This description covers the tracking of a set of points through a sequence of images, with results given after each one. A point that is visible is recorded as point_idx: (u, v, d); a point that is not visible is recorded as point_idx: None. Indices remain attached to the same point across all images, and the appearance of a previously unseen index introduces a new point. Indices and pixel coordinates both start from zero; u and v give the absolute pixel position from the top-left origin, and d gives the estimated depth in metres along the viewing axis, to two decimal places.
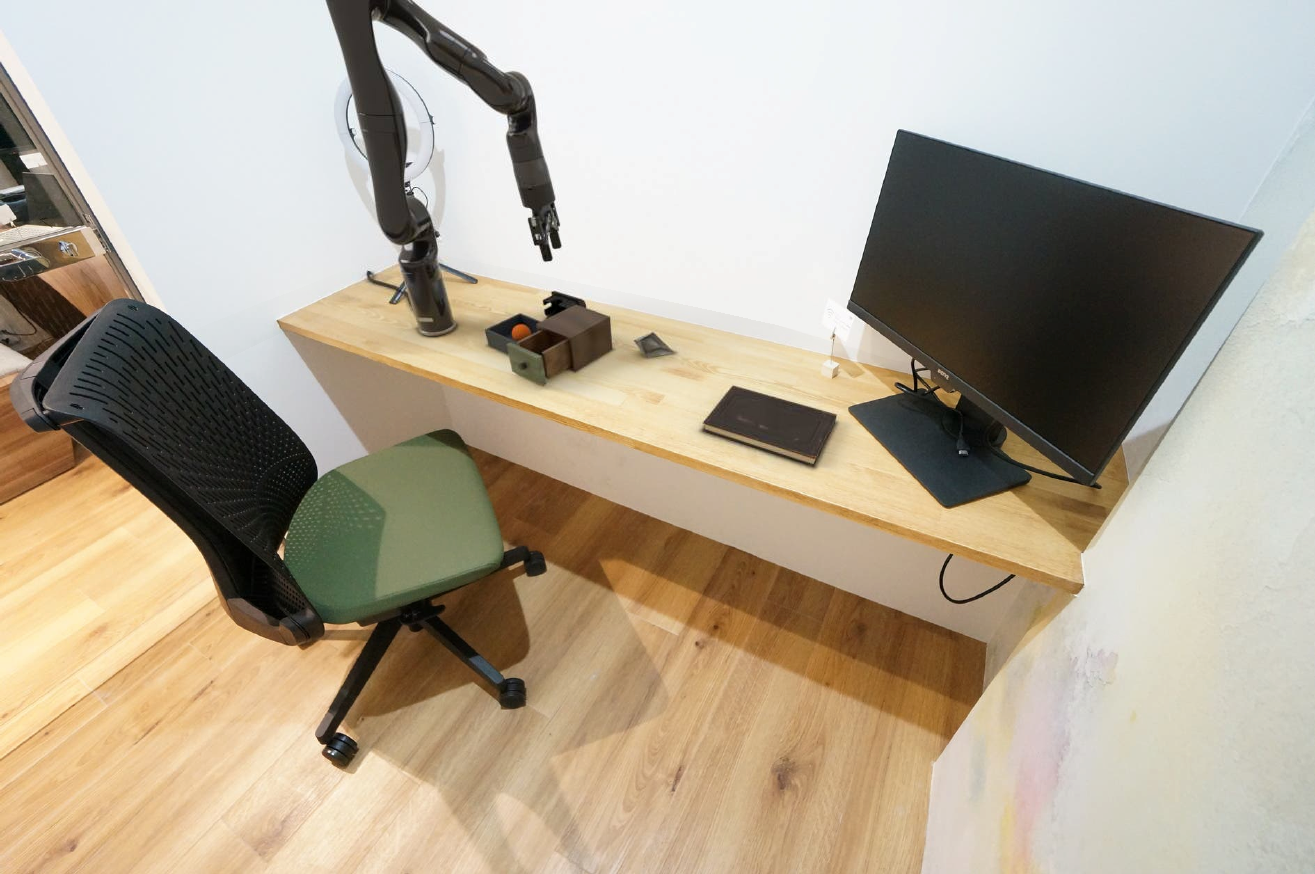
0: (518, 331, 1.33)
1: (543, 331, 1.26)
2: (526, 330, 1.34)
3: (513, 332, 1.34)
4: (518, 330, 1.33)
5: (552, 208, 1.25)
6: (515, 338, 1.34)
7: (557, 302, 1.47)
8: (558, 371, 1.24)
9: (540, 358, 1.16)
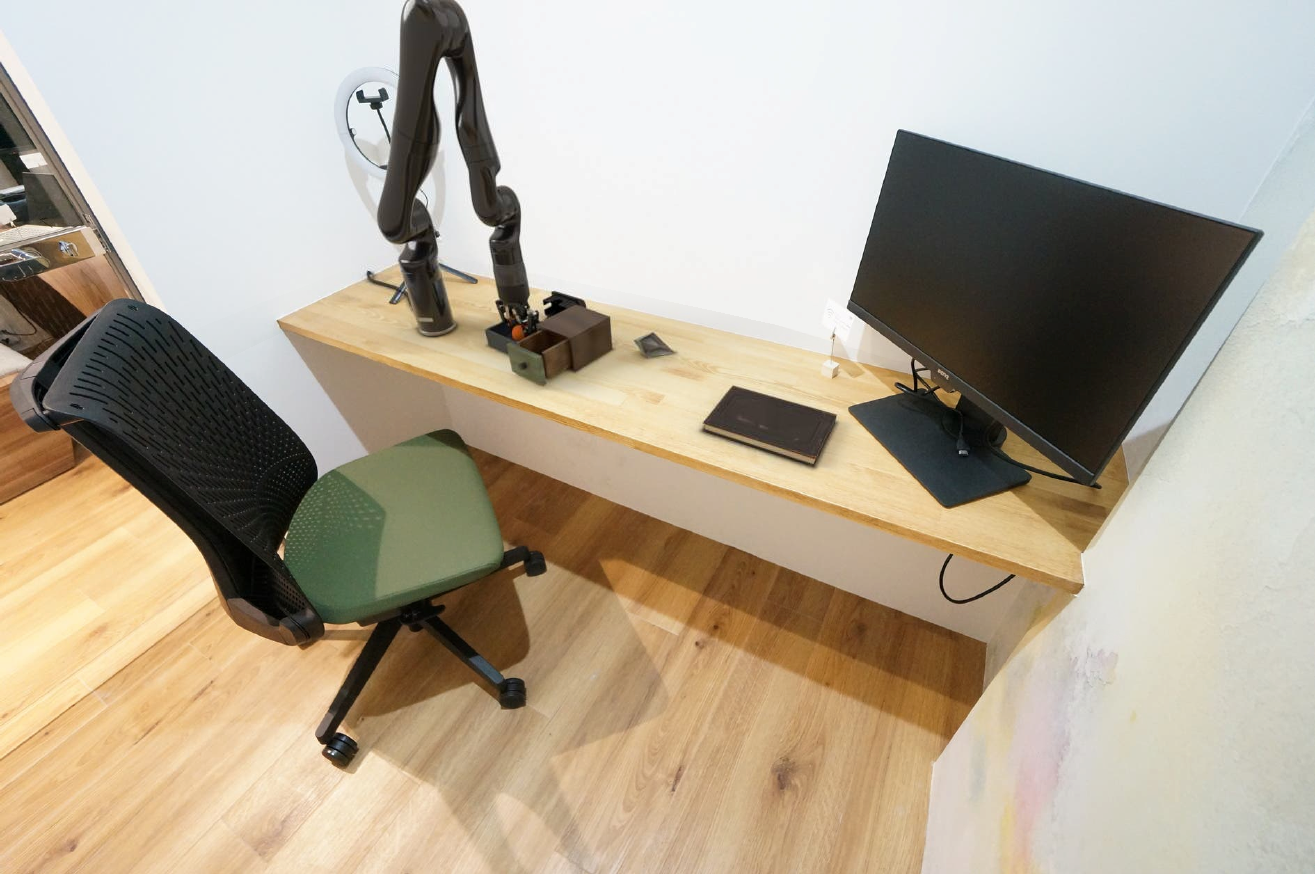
0: (518, 332, 1.33)
1: (543, 331, 1.26)
2: None
3: (513, 332, 1.34)
4: (518, 330, 1.33)
5: None
6: (515, 338, 1.34)
7: (557, 302, 1.47)
8: (558, 371, 1.24)
9: (540, 358, 1.16)
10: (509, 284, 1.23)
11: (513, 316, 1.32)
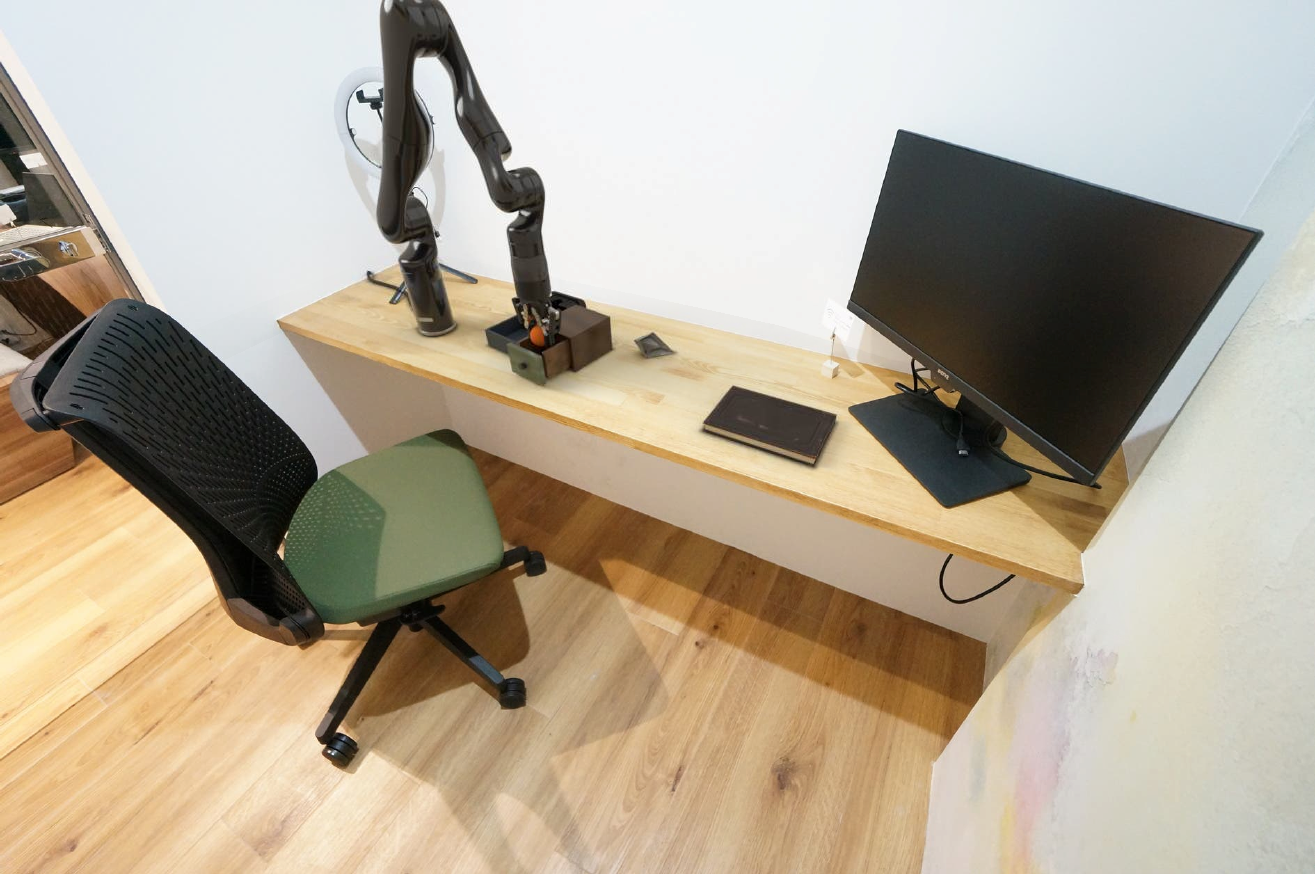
0: (537, 333, 1.19)
1: None
2: None
3: (532, 334, 1.19)
4: (537, 332, 1.19)
5: None
6: (534, 340, 1.19)
7: (557, 302, 1.47)
8: (558, 371, 1.24)
9: (540, 358, 1.16)
10: (529, 279, 1.09)
11: (532, 316, 1.17)
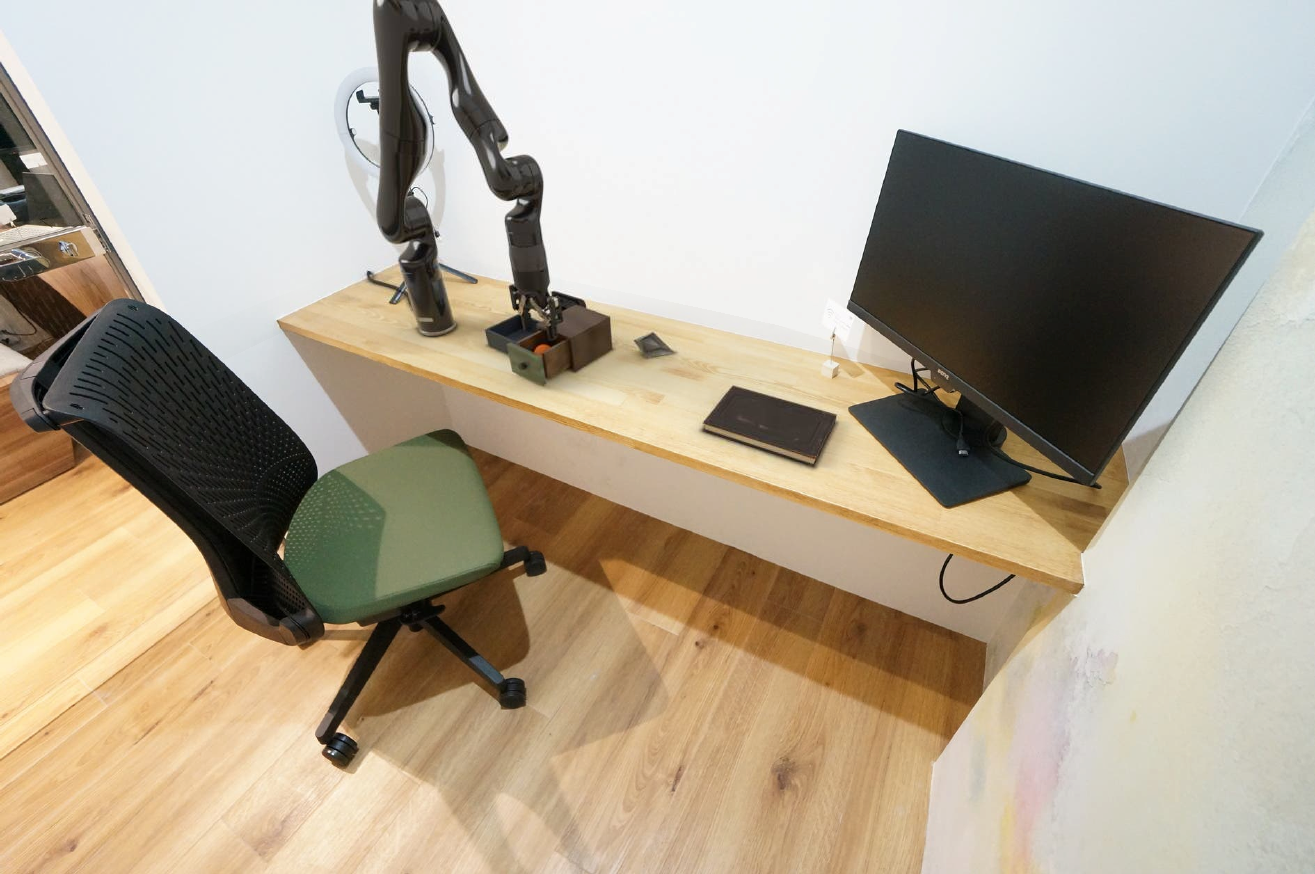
0: (541, 353, 1.22)
1: (543, 331, 1.26)
2: None
3: None
4: (541, 352, 1.22)
5: None
6: None
7: None
8: (558, 371, 1.24)
9: (540, 358, 1.16)
10: (527, 269, 1.07)
11: (530, 307, 1.16)
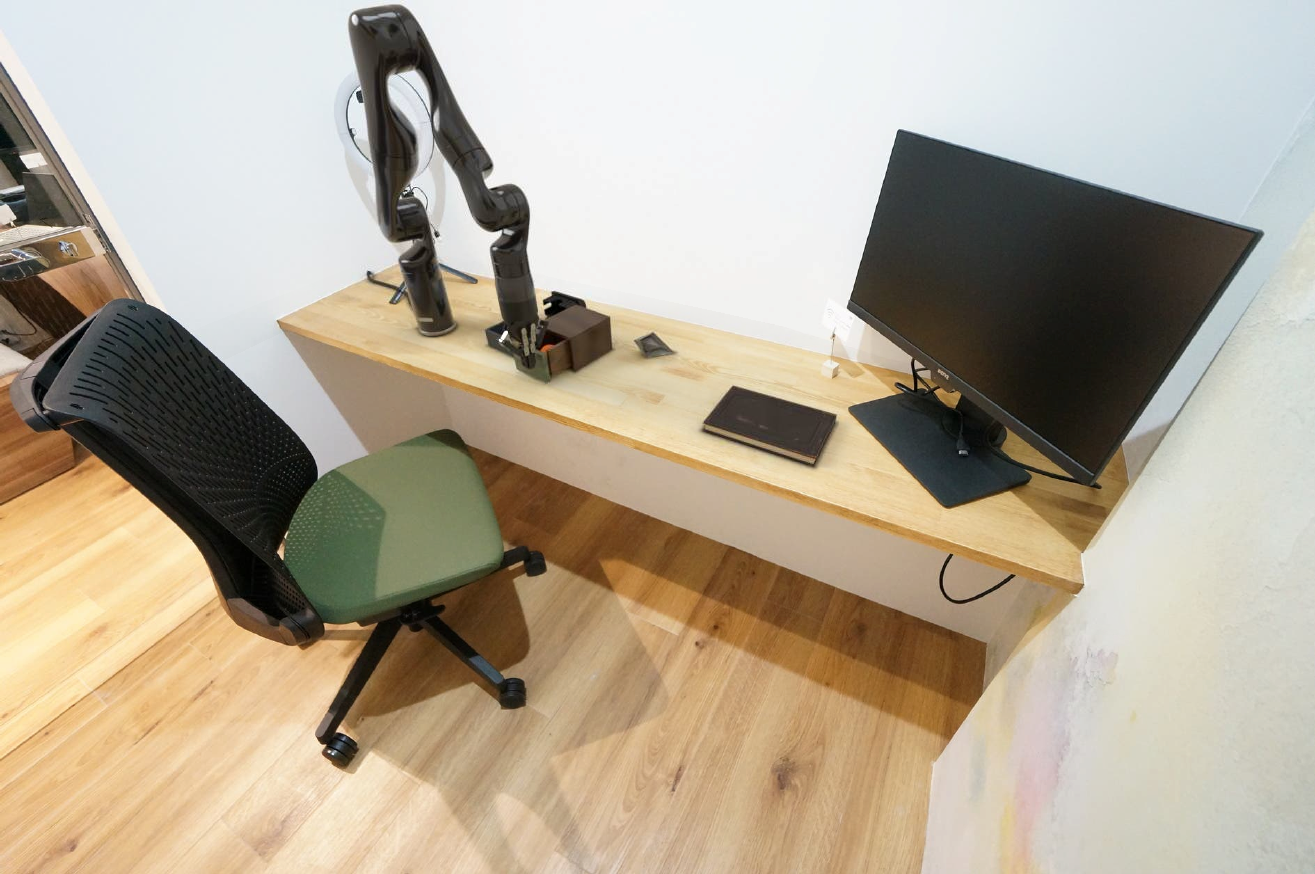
0: None
1: None
2: None
3: None
4: None
5: None
6: None
7: (557, 302, 1.47)
8: (562, 369, 1.24)
9: (544, 356, 1.17)
10: (534, 292, 1.07)
11: None
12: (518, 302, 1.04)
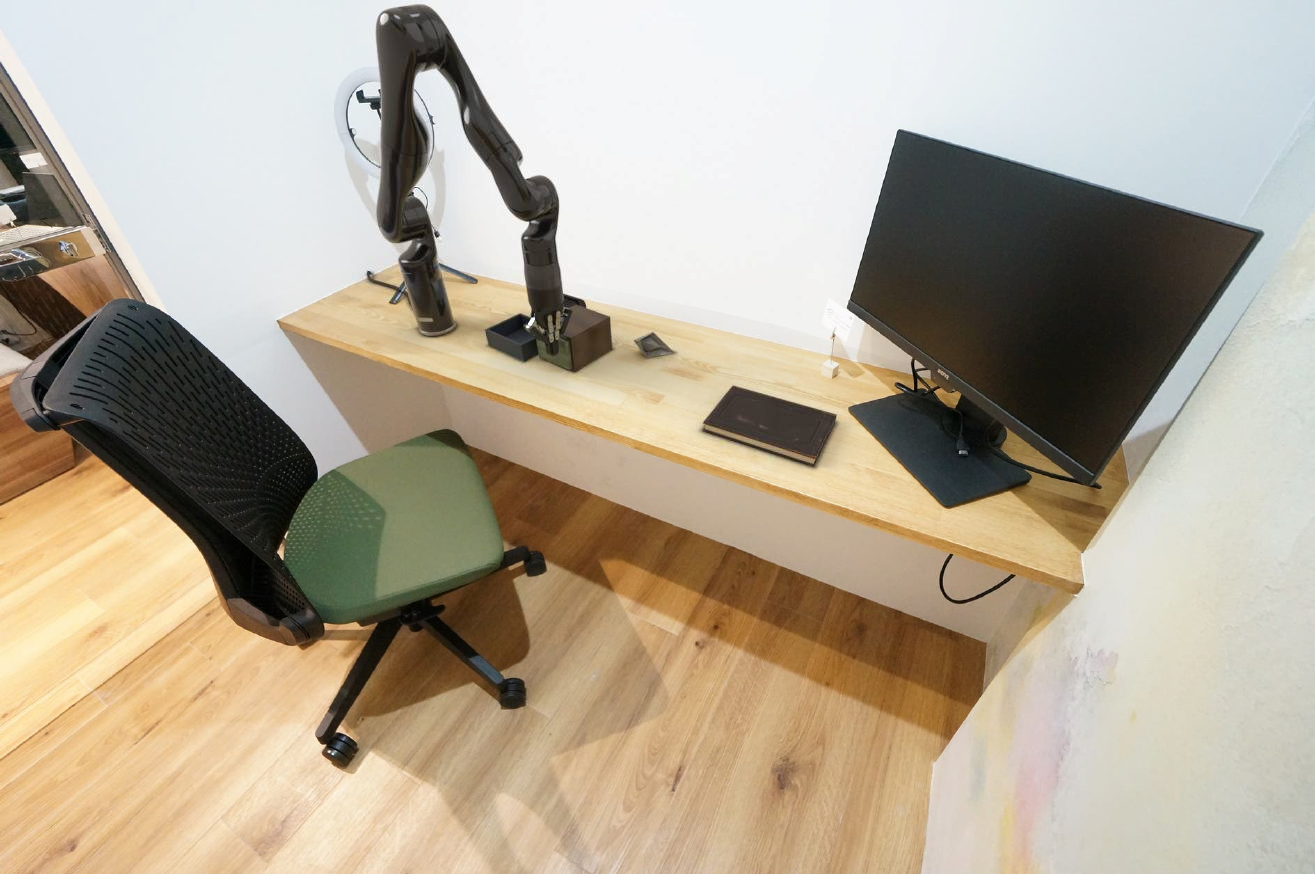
0: None
1: None
2: None
3: None
4: None
5: None
6: None
7: None
8: None
9: (568, 343, 1.21)
10: (561, 280, 1.12)
11: None
12: (546, 289, 1.09)
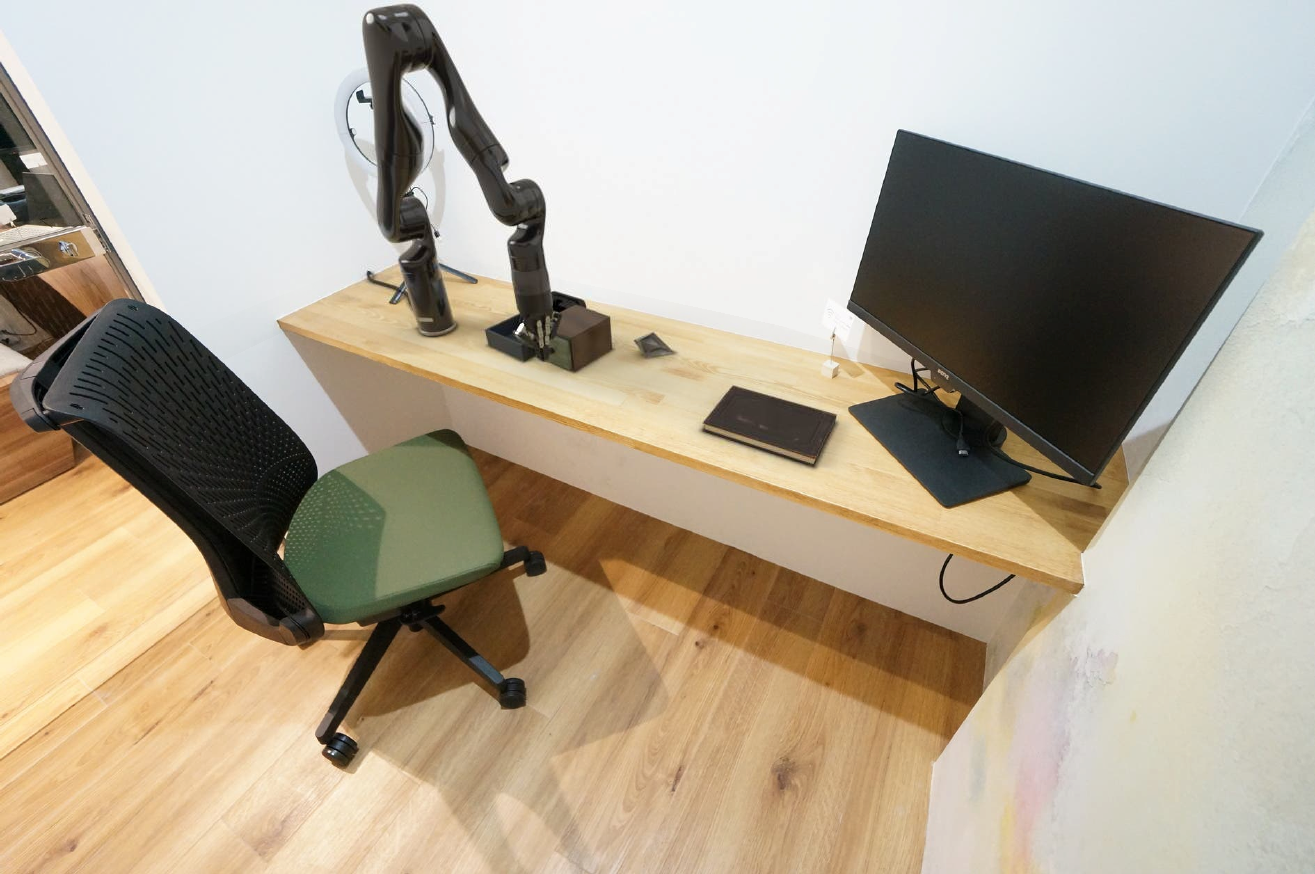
0: None
1: None
2: None
3: None
4: None
5: None
6: None
7: (557, 302, 1.47)
8: None
9: (568, 343, 1.21)
10: None
11: None
12: (534, 295, 1.07)
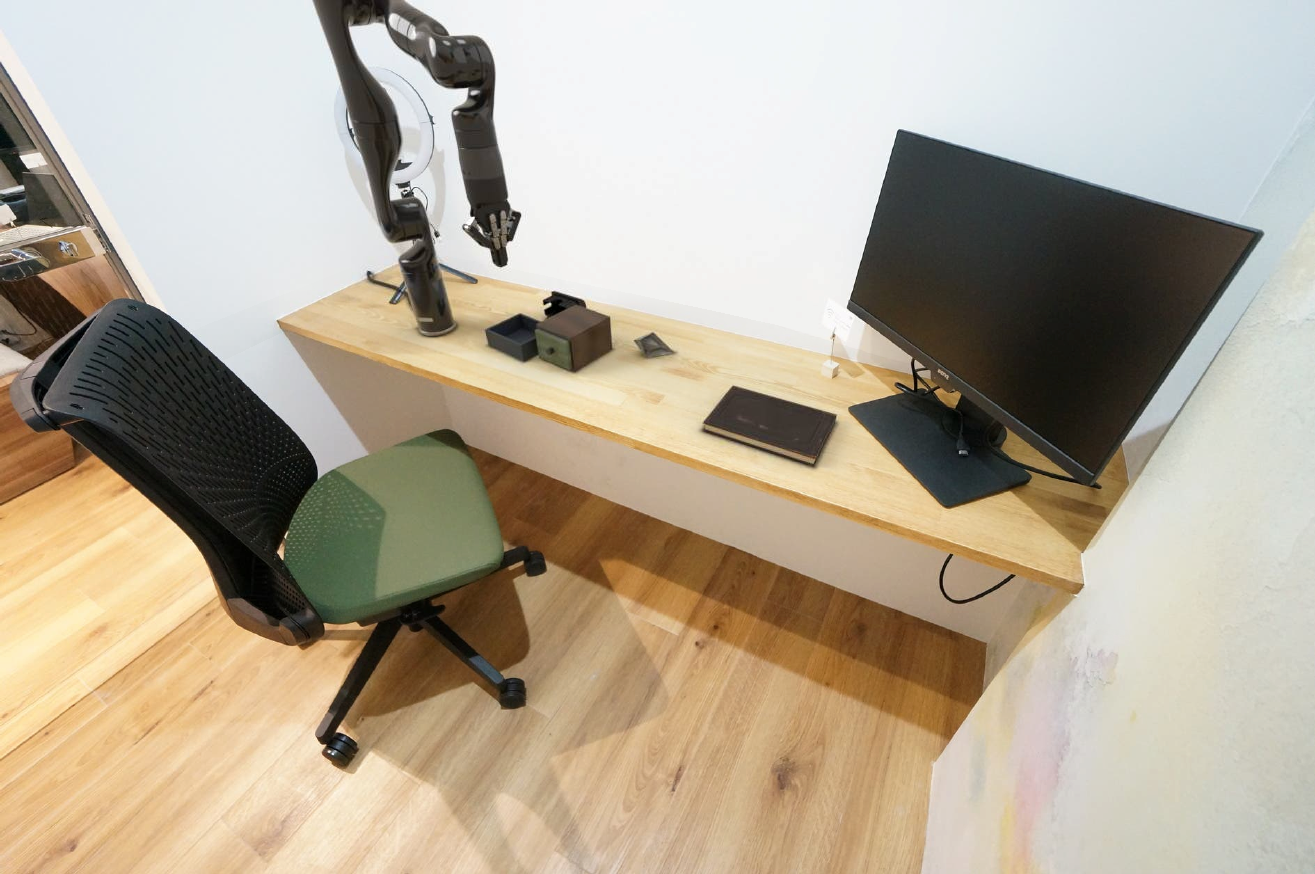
0: None
1: None
2: None
3: None
4: None
5: None
6: None
7: (557, 302, 1.47)
8: None
9: (568, 343, 1.21)
10: (503, 171, 0.97)
11: None
12: (484, 179, 0.94)
